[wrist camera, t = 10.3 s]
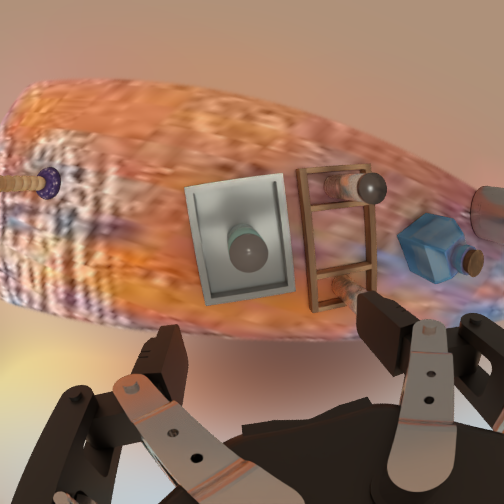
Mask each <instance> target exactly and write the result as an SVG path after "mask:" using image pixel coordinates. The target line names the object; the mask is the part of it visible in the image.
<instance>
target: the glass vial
mask: <svg viewBox="0 0 504 504" xmlns="http://www.w3.org/2000/svg"><path fill="white" fill-rule="evenodd" d="M324 190H325V192H326V194H327V195H328V196H329V197H331V198H337V199H344V200H351V201H357V202H364V203H367V204H373V205H375V204H379V203H380V202H382V201H383V200H384V198H385V196H386V193H387V186H386V182H385V180H384V179H383V177H382V176H381V175H379V174H377V173H365V174H346V175H332V176H329V177H328V178H327V179H326V180H325V183H324Z"/></svg>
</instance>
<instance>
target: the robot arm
mask: <svg viewBox="0 0 504 504" xmlns="http://www.w3.org/2000/svg"><path fill="white" fill-rule="evenodd" d="M471 222H472V227H473V230H474V232H475V234H476V235H477V236H478V237H480V238H482V239H486V240H489V241H492V242H495V243H498V244H502V245H504V188H499V187H490V186H482V187H480V188H479V189H478V190H477V192H476V193H475V195H474V198H473V201H472V206H471ZM356 327H357V332H358V334H359V336H360V338H361V339H362V340H363V341H364V342H365V343H366V345H367V346H368V347H369V348H370V350H371V351H372V352H373V353H374V354H375V356H376V357H377V358H378V359H379V360H380V362H381V363H382V364H383V365H384V366H385V368H386V369H387V370H388V371H389V372H390V374H391V375H392V376H393V377H395V376H397V375H400V374H403V373H404V374H405V377H404V382H403V387H402V392H401V397H400V401H399V405H394V404H372V403H371V402H370V400H369V399H368V397H365V398H362V399H358V400H356V401H352V402H349V403H345V404H342V405H339V406H337V407H335V408H333V409H331V410H328V411H326V412H324V413H322V414H320V415H318V416H316V417H314V418H311V419H306V420H272V421H268V422H261V423H254V424H247V425H242V434H241V435H239V436H236V437H234V438H231V439H229V440H227V441H226V442H223V443H222V442H220V441H219V440H218V439H217V438H216V437H214V436H213V435H212V434H211V433H210V432H209V431H208V430H206V429H205V428H204V427H203V426H202V425H201V424H200V423H198V421H196V420H195V419H194V418H193V417H192V416H191V415H190V414H189V413H188V412H187V411H186V410H185V409H184V408H183V407H182V404H183V398H184V391H185V385H186V378H187V373H188V357H187V353H186V349H185V346H184V342H183V339H182V335H181V332H180V328H179V326H178V325H177V324H175V325H166V326H161V327H160V329H159V331H158V334H157V336H156V337H155V338H150V339H149V340H148V341H147V342H146V343H145V344H144V346H143V348H142V350H141V353H140V354H139V356H138V359H137V361H136V363H135V366H134V368H133V370H132V372H131V374H130V375H127V376H124V377H122V378H120V379H119V380H118V381H117V382H116V383H115V384H114V386H113V391H112V392H108V393H103V394H98V395H94V393H93V391H92V389H91V388H90V387H88V386H85V385H78V386H74V387H71V388H69V389H68V390H67V391H65V392H64V393H63V394H62V396H61V398H60V399H59V401H58V403H57V405H56V407H55V409H54V410H53V412H52V414H51V416H50V418H49V420H48V422H47V424H46V426H45V428H44V429H43V431H42V433H41V435H40V438H39V440H38V442H37V444H36V446H35V448H34V450H33V452H32V454H31V456H30V459H29V461H28V463H27V465H26V467H25V470H24V472H23V474H22V477H21V479H20V481H19V484H18V486H17V489H16V491H15V494H14V497H13V500H12V502H11V504H111V500H112V494H113V489H114V483H115V478H116V473H117V468H118V463H119V459H120V454H121V450H122V446H123V445H128V444H132V443H137V442H142V444H143V445H144V447H145V448H146V449H147V450H148V452H149V453H150V455H151V456H152V457H153V459H154V460H155V462H156V463H157V464H158V465H159V466H160V468H161V469H162V470H163V472H164V473H165V474H166V476H167V477H168V478H169V480H170V481H171V482H172V483H173V485H174V486H175V487H176V488H175V489H174V490H173V491H172V492H170V493H169V494H168V495H167V496H166V497H165V498H164V499H163V500H162V501H161V502H160V503H158V504H504V329H503V328H501V327H500V326H498V325H497V324H496V323H494V322H493V321H491V320H490V319H488V318H487V317H485V316H483V315H481V314H477V313H469V314H465V315H463V316H462V317H461V321H460V326H459V327H454V328H447V329H446V327H445V325H444V324H442V323H441V322H439V321H436V320H431V319H426V320H419V319H418V318H416V317H415V316H414V315H412V314H411V313H410V312H409V311H406V309H405V308H403V307H401V305H399V304H398V303H397V302H395V301H393V300H390V299H387V298H384V297H382V296H381V295H380V294H378V293H377V292H376V291H374V290H372V291H368V292H364V293H359V294H358V296H357V317H356ZM481 354H482V355H484V356H485V357H486V358H487V359H488V360H489V361H490V362H491V365H492V372H491V375H490V376H489V374H488V373H486V371H484V370H483V369H482V368H481V367H480V366H479V365H478V363H479V361H480V357H481ZM454 385H455V386H456V387H457V389H458V390H460V392H461V393H462V394H463V395H464V396H465V398H466V399H467V400H468V401H469V402H470V403H471V404H472V405H473V407H474V408H475V409H476V410H477V411H478V412H479V414H480V415H481V416H482V417H483V418H484V420H485V421H486V422H487V423H488V424H489V426H490V427H491V428H492V429H493V431H492V430H487V429H483V428H478V427H473V426H470V425H466V424H462V423H458V422H454ZM85 440H86V443H85ZM84 443H85V446H84ZM83 446H84V449H83Z"/></svg>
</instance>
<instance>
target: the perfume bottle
mask: <svg viewBox="0 0 504 504" xmlns="http://www.w3.org/2000/svg"><path fill="white" fill-rule="evenodd" d="M397 237H398V240H399V242H400V245H401V247H402V250H403V252H404V255H405V258H406V260H407V263H408V266H409V269H410V271H411V272H413V273H415V274H417V275H419V276H421V277H423V278H425V279H427V280H429V281H430V282H432V283H434V284H438V283H441V282H444V281H447V280H449V279H452V278H453V277H454V276H455V275H456V274H457V273H458V272H459V273H462V274H464V275H470V276H471V277H476V276H477V275H478V274H479V273H480V271H481V269H482V267H483V263H484V256H483V253H482V251H481V250H476V249H475V247H473V246H470V245H467V244H466V240H465V236H464V233H463V232H462V230H461V229H460V227H459V226H458V224H457V223H456V221H455V220H454V219H453V218H448V217H443V216H439V215H434V214H429V213H425V214H424V215H423V216H421V217H420V218H419V219H417V220H416V221H415V222H414V223H412V224H411V225H410V226H408V227H407V228H406V229H404V230H403V231H402V232H401V233H399V234H398V235H397Z"/></svg>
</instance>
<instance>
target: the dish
mask: <svg viewBox="0 0 504 504" xmlns="http://www.w3.org/2000/svg"><path fill="white" fill-rule="evenodd" d="M184 189H185V196H186V202H187V208H188V215H189V221H190V227H191V232H192V238H193V244H194V249H195V255H196V260H197V265H198V270H199V275H200V280H201V285H202V290H203V295H204V300H205V305H206V306H209V305H216V304H222V303H229V302H236V301H242V300H248V299H254V298H260V297H266V296H272V295H278V294H284V293H289V292H295V291H296V289H295V278H294V267H293V257H292V248H291V238H290V229H289V220H288V212H287V204H286V195H285V187H284V180H283V173H278V174H270V175H262V176H254V177H246V178H239V179H232V180H225V181H219V182H212V183H206V184H200V185H194V186H188V187H184ZM242 223H244V224H249V225H251V226H252V227H253V228H254V229H255V230H256V231H257V232H258V234H259V235H260V236H261V237H262V239H263V240H264V241H265V243H266V245H267V248H268V259H267V262H266V263H265V265H264V266H263V267H262V268H261V269H260V270H258V271H256V272H252V273H245V272H241V271H239V270H238V269H236V268H235V267H234V266H233V264H232V263H231V260H230V258H229V252H228V244H227V235H228V232H229V231H230V229H231V228H232V227H234V226H235V225H237V224H242Z"/></svg>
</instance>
